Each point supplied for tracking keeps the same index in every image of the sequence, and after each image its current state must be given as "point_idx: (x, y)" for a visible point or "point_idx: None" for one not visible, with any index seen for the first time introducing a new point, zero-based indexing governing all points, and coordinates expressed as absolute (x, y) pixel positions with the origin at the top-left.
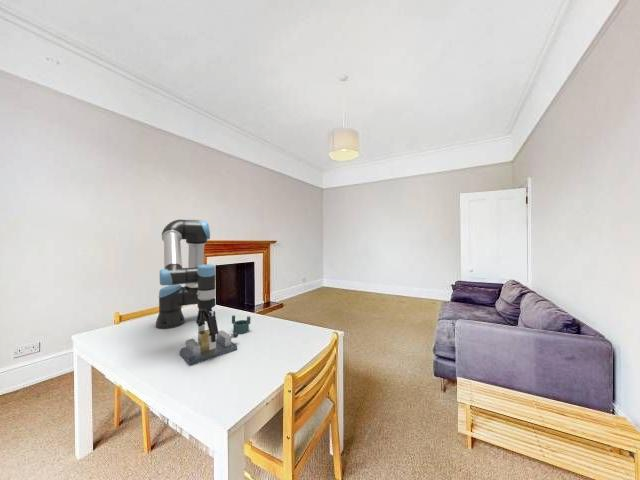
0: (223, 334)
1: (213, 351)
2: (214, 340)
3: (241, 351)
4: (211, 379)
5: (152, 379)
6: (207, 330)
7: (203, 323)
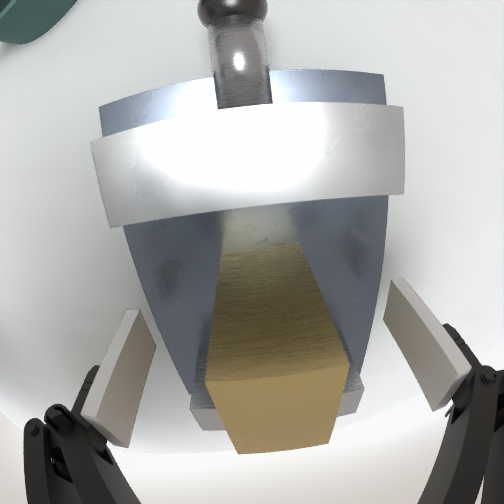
0: (271, 165)
1: (353, 266)
2: (454, 338)
3: (406, 74)
4: (486, 298)
5: (338, 422)
6: (250, 416)
7: (89, 444)
